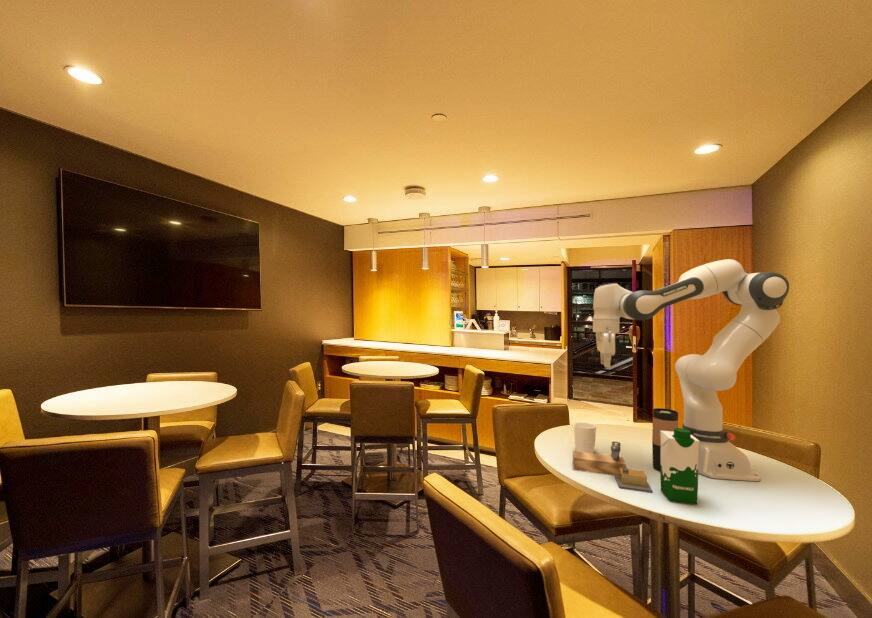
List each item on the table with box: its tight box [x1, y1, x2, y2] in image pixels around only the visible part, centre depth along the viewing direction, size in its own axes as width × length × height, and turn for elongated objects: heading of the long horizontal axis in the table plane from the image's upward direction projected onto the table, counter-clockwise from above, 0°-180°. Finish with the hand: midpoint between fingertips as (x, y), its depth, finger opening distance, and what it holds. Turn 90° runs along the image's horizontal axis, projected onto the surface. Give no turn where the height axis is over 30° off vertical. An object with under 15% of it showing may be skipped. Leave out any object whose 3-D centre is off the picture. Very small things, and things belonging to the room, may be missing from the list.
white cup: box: [573, 422, 597, 454], centre depth 147 cm, size 8×8×10 cm
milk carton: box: [659, 427, 699, 506], centre depth 110 cm, size 9×9×20 cm
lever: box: [610, 441, 622, 458], centre depth 125 cm, size 10×3×4 cm, turn 150°
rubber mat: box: [614, 475, 654, 494], centre depth 118 cm, size 9×9×1 cm
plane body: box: [572, 450, 627, 476], centre depth 129 cm, size 16×7×7 cm, turn 73°
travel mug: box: [651, 407, 679, 472], centre depth 131 cm, size 8×8×20 cm
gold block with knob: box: [619, 467, 648, 487], centre depth 118 cm, size 7×5×4 cm
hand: (605, 365), depth 139 cm, fingers open, 8 cm apart
